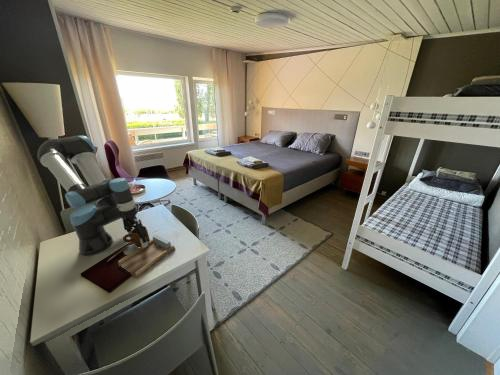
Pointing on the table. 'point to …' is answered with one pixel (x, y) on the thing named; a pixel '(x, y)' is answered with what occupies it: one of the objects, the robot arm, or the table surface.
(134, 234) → the mug
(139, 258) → the housing base
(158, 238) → the bar
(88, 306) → the table surface
